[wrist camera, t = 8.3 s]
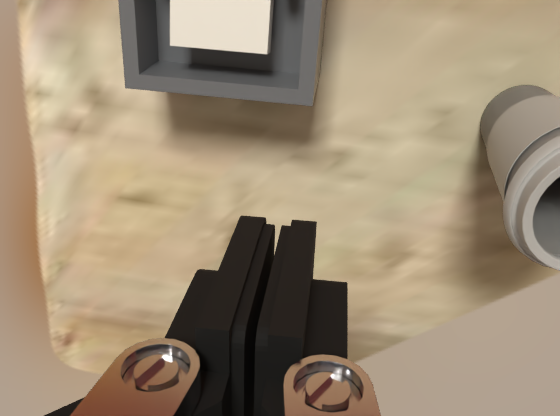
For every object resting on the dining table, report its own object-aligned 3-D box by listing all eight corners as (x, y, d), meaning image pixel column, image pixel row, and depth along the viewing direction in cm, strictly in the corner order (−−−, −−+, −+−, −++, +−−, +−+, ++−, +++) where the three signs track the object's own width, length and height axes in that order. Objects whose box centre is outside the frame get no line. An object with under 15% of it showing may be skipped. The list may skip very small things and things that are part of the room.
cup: (539, 187, 35) (619, 303, 24) (443, 155, 35) (481, 257, 24) (603, 84, 31) (727, 167, 21) (496, 48, 31) (568, 113, 21)
